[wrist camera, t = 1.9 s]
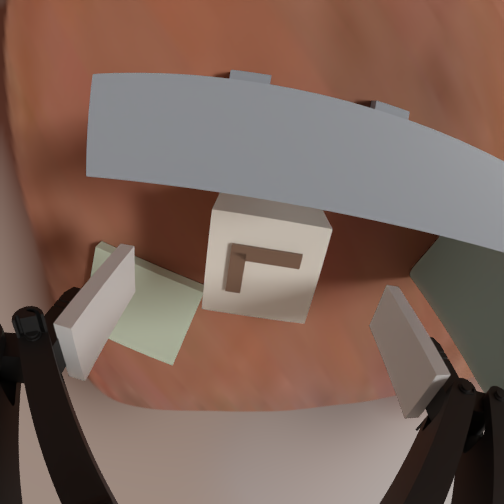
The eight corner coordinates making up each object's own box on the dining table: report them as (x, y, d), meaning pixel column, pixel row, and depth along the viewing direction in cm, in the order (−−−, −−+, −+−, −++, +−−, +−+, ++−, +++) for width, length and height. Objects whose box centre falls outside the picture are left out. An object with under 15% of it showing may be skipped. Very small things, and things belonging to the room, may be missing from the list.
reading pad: (101, 241, 23) (95, 246, 22) (205, 285, 24) (203, 292, 23) (88, 320, 26) (84, 327, 26) (174, 357, 28) (172, 365, 27)
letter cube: (225, 180, 21) (211, 210, 15) (314, 195, 21) (333, 230, 15) (215, 260, 23) (201, 310, 18) (295, 272, 23) (304, 325, 18)
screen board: (216, 145, 19) (90, 270, 5) (227, 71, 17) (113, -26, 3) (391, 180, 20) (557, 326, 6) (407, 112, 18) (616, 170, 3)
